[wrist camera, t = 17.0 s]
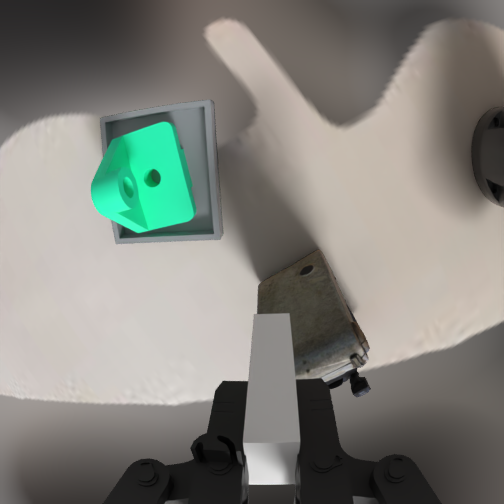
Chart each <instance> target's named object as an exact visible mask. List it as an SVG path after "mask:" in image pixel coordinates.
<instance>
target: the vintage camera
mask: <svg viewBox="0 0 504 504" xmlns="http://www.w3.org/2000/svg"><path fill="white" fill-rule="evenodd" d="M282 313H289V314H290V324H291V335H292V345H293V356H294V367H295V379H314V378H322V379H323V380H324V382H325V383H326V384H327V385H328V387H329V389H333V388H336V387H338V386H340V385H342V383H343V382H345V381H347V380H348V379H350V383H351V390H352V393H353V395H354V396H356V397H359V396H362V395H364V394H366V393H368V392H369V390H370V389H371V388H370V387H369V385H368V382H367V380H366V378H365V377H359V376H358V375H359V373H358V372H357V368H360V367H363V366H364V365H365V364H366V362H367V361H368V360H369V359H368V356H367V352H368V351H369V349H370V347H369V345H368V342H367V340H366V337H365V335H364V333H363V332H362V330H361V329H360V327H359V325H358V323H357V321H356V320H355V318H354V316H353V314H352V312H351V311H350V309H349V307H348V305H347V304H346V301H345V299H344V298H343V295H342V293H341V291H340V288H339V286H338V283H337V281H336V278H335V277H334V275H333V272H332V270H331V268H330V266H329V264H328V263H327V261H326V259H325V257H324V255H323V254H322V252H321V251H320V250H317V251H315V252H313V253H312V254H310V255H308V256H306V257H305V258H303V259H301V260H299V261H298V262H296V263H295V264H293V265H292V266H290V267H288V268H286V269H284V270H282V271H281V272H279V273H277V274H275V275H274V276H272V277H270V278H269V279H267V280H265V281H263V282H262V283H260V284H259V285H258V305H257V314H282Z"/></svg>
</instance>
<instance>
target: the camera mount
mask: <svg viewBox="0 0 504 504" xmlns="http://www.w3.org/2000/svg"><path fill="white" fill-rule="evenodd" d="M153 169H155V170H157V171H158V172H159V173H160V176H161V181H160V183H159V184H157V183H155V182H154V181H153V180H152V177H151V173H152V171H153ZM192 186H193V184H192V180H191V177H190V173H189V169H188V165H187V161H186V157H185V153H184V149H181V147H180V143H179V139H178V134H177V130H176V127H175V125H174V124H173V123H170V122H160V123H157V124H154V125H151V126H148V127H145V128H142V129H139V130H137V131H134V132H131V133H128V134H126V135H123V136H120V137H118V138H115V139H112V141H111V143H110V145H109V147H108V149H107V151H106V153H105V155H104V157H103V159H102V161H101V163H100V166H99V168H98V170H97V172H96V174H95V177H94V179H93V181H92V184H91V196H92V200H93V203H94V206H95V207H96V209H97V211H98V212H99V213H100V214H101V215H103V216H105V217H107V218H109V219H111V220H113V221H115V222H117V223H119V224H121V225H123V226H125V227H127V228H129V229H131V230H133V231H135V232H137V233H142V232H146V231H150V230H154V229H158V228H162V227H167V226H171V225H175V224H179V223H184V222H188V221H190V220H191V219H192V218H193V217H194V216H195V214H196V211H197V209H196V205H195V201H194V198H193V194H192V190H191V187H192Z"/></svg>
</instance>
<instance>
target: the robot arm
mask: <svg viewBox="0 0 504 504" xmlns="http://www.w3.org/2000/svg"><path fill="white" fill-rule="evenodd" d="M472 164H473V170H474V174H475V177H476V180H477V183H478V185H479V187H480V189H481V191H482V192H483V194H484V195H485V196H486V197H487V198H488V199H489V200H490V201H491V202H493V203H494V204H496V205H499V206H501V207H504V107H498V108H493V109H491V110H489V111H488V112H486V113H485V114H484V115H483V117H482V118H481V119H480V121H479V123H478V125H477V127H476V130H475V133H474V137H473V142H472ZM191 451H192V454H193V456H194V459H193V460H191V461H189V462H185V463H180V464H174V465H167V466H165V465H164V464H163V463H161V462H159V461H158V460H154V459H141V460H138V461H136V462H134V463H133V464H131V465H130V467H128V469H127V470H126V471H125V473H124V474H123V476H122V477H121V479H120V480H119V481H118V483H117V484H116V486H115V487H114V489H113V490H112V491H111V493H110V494H109V496H108V497H107V499H106V500H105V501H104V503H103V504H249V497H248V485H249V484H255V485H257V484H259V485H261V484H262V485H270V484H271V485H272V484H295V489H296V495H295V500H294V504H441V502H440V500H439V499H438V497H437V496H436V494H435V493H434V491H433V490H432V488H431V487H430V485H429V484H428V482H427V480H426V479H425V478H424V476H423V475H422V473H421V471H420V470H419V468H418V467H417V465H416V464H415V463H414V462H413V461H412V460H411V459H410V458H409V457H406V456H404V455H397V454H394V455H389V456H386V457H384V458H383V459H381V460H379V462H374V461H365V460H359V459H355V458H353V457H351V456H349V455H348V454H346V453H345V452H344V451H343V449H342V448H341V445H340V443H339V438H338V432H337V427H336V421H335V415H334V410H333V405H332V401H331V395H330V389H329V387H328V385H327V384H326V383H325V382H324V380H323V379H322V378H314V379H295V367H294V356H293V345H292V335H291V324H290V314H289V313H282V314H254V320H253V332H252V344H251V356H250V367H249V379H248V381H223V382H222V383H221V384H220V385H219V387H218V388H217V389H216V391H215V395H214V400H213V406H212V410H211V415H210V421H209V426H208V430H207V433H206V434H203V435H201V436H199V437H198V438H197V439H196V440H195V441H194V442H193V444H192V446H191Z"/></svg>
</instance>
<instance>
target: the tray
mask: <svg viewBox="0 0 504 504" xmlns="http://www.w3.org/2000/svg"><path fill="white" fill-rule="evenodd" d="M160 122H170V123H173V124H174V125H175V127H176V130H177V134H178V139H179V143H180V147H181V149H184V153H185V157H186V161H187V165H188V169H189V173H190V177H191V180H192V184H193V186H192V187H191V190H192V194H193V198H194V201H195V205H196V209H197V211H196V214H195V216H194V217H193V218H192V219H191V220H190V221H188V222H184V223H179V224H175V225H171V226H167V227H162V228H158V229H154V230H150V231H146V232H142V233H137V232H135V231H133V230H131V229H129V228H127V227H125V226H123V225H121V224H119V223H117V222H115V221H113V220H112V226H113V232H114V237H115V242H116V244H127V243H149V242H172V241H197V240H220V239H221V237H222V235H223V224H222V212H221V199H220V186H219V172H218V157H217V142H216V126H215V109H214V102H213V101H212V100H202V101H194V102H185V103H179V104H171V105H164V106H158V107H152V108H147V109H141V110H135V111H130V112H126V113H120V114H116V115H111V116H107V117H102V118H100V125H101V139H102V150H103V157H104V155H105V153H106V151H107V149H108V147H109V145H110V143H111V141H112V139H115V138H118V137H120V136H123V135H126V134H128V133H131V132H134V131H137V130H139V129H142V128H145V127H148V126H151V125H154V124H157V123H160ZM151 177H152V180H153V181H154V182H155V183H157V184H159V183H160V181H161V176H160V173H159V172H158V171H157V170H155V169H153V171H152V173H151Z"/></svg>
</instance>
